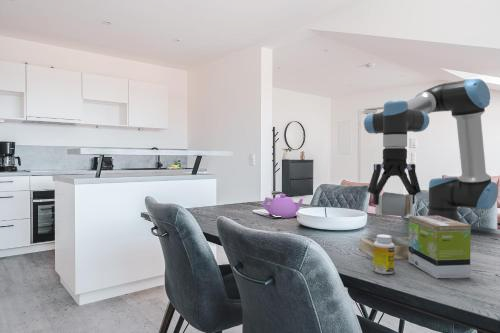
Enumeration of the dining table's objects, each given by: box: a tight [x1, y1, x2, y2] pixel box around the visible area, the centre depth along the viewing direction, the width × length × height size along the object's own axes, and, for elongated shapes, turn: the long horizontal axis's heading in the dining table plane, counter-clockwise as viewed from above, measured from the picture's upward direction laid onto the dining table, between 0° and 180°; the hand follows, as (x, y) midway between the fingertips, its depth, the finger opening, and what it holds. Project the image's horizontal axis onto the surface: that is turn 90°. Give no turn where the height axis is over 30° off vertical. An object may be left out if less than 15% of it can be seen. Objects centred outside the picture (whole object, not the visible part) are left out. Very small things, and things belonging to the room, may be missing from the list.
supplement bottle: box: [372, 234, 395, 275], centre depth 103 cm, size 6×6×10 cm
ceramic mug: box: [381, 191, 409, 217], centre depth 122 cm, size 11×8×8 cm
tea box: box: [408, 215, 472, 279], centre depth 104 cm, size 15×10×15 cm, turn 5°
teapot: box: [262, 193, 304, 219], centre depth 198 cm, size 22×16×12 cm
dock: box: [359, 236, 409, 260], centre depth 122 cm, size 18×12×4 cm, turn 99°
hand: (393, 214), depth 121 cm, fingers closed on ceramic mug, 10 cm apart
